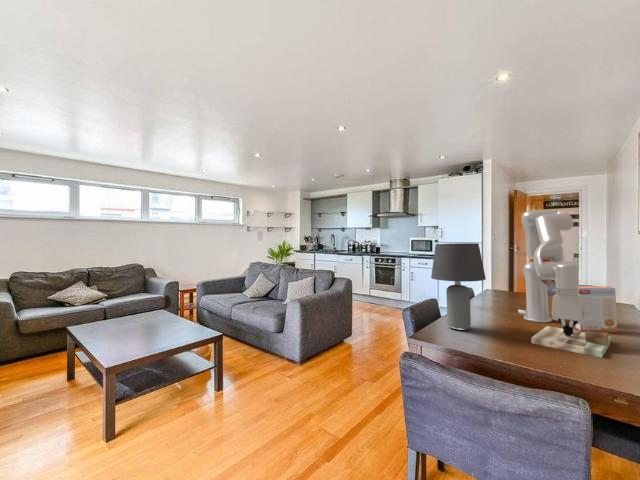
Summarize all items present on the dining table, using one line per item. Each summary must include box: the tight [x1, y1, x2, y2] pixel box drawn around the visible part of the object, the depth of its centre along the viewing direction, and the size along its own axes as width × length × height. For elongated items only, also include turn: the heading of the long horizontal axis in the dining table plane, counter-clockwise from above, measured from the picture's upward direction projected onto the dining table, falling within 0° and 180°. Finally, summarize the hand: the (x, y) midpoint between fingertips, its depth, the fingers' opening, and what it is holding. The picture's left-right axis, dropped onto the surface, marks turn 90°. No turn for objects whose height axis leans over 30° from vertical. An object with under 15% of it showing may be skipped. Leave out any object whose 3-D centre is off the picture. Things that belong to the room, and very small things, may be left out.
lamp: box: [430, 242, 487, 330], centre depth 151 cm, size 25×25×43 cm
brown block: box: [584, 329, 609, 346], centre depth 120 cm, size 6×6×4 cm
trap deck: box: [530, 325, 612, 359], centre depth 127 cm, size 22×24×2 cm
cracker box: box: [574, 285, 618, 334], centre depth 142 cm, size 14×6×21 cm, turn 71°
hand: (568, 335), depth 127 cm, fingers closed
